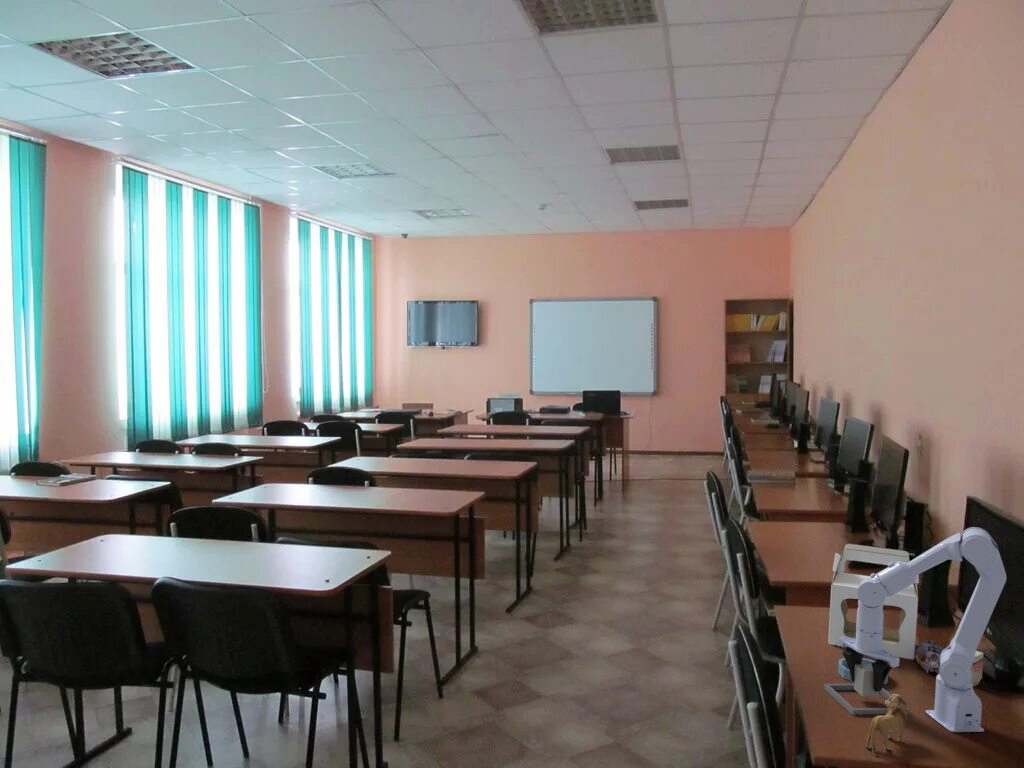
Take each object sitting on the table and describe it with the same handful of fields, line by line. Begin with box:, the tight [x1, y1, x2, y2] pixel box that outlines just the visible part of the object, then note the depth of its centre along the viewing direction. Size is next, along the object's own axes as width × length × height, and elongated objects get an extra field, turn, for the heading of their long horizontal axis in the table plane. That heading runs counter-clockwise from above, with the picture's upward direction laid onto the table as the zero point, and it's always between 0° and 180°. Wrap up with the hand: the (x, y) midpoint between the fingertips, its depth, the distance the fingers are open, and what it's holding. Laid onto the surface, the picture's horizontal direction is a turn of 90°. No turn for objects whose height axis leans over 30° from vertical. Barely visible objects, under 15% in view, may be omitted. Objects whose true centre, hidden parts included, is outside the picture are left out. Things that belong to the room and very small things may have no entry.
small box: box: [971, 650, 984, 688], centre depth 201 cm, size 5×4×8 cm
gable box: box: [827, 543, 920, 661], centre depth 224 cm, size 22×13×28 cm, turn 64°
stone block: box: [853, 664, 880, 697], centre depth 188 cm, size 4×4×6 cm
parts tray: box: [823, 683, 911, 716], centre depth 188 cm, size 14×14×1 cm
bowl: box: [837, 657, 889, 686], centre depth 203 cm, size 12×12×2 cm
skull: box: [914, 639, 944, 674], centre depth 209 cm, size 12×8×6 cm, turn 151°
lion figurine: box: [865, 693, 909, 754], centre depth 168 cm, size 15×5×9 cm, turn 136°
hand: (866, 685), depth 188 cm, fingers closed on stone block, 5 cm apart
